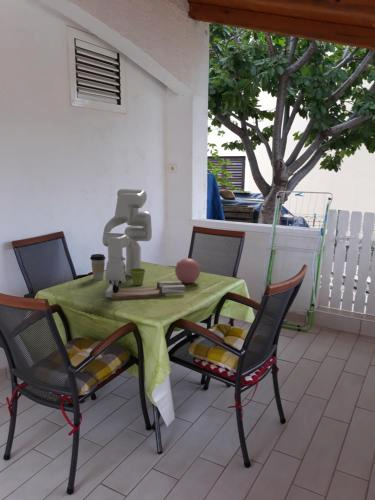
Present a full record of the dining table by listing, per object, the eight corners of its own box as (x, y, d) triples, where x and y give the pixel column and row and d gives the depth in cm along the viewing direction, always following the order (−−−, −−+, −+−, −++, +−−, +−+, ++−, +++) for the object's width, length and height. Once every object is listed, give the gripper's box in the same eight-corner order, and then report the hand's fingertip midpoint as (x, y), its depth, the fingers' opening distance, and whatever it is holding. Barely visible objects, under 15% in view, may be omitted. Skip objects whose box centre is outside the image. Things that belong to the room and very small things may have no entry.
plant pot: (148, 284, 246) (148, 270, 244) (136, 287, 239) (136, 273, 237) (138, 280, 252) (138, 267, 250) (126, 283, 245) (126, 270, 243)
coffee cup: (109, 278, 256) (108, 255, 252) (98, 281, 248) (97, 257, 245) (98, 275, 261) (97, 252, 257) (87, 278, 253) (86, 255, 250)
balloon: (189, 276, 265) (190, 253, 262) (204, 284, 247) (205, 260, 244) (168, 278, 258) (168, 255, 255) (181, 287, 241) (181, 262, 237)
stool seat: (108, 291, 230) (108, 283, 229) (179, 288, 240) (180, 280, 239) (110, 300, 217) (110, 291, 216) (185, 295, 227) (185, 287, 226)
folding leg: (111, 288, 229) (111, 283, 228) (116, 288, 229) (116, 283, 228) (105, 297, 215) (105, 291, 214) (111, 297, 215) (111, 291, 214)
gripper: (130, 258, 217) (131, 291, 221) (103, 257, 218) (104, 289, 222) (127, 261, 210) (127, 295, 213) (99, 260, 211) (100, 293, 215)
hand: (115, 292), depth 218 cm, fingers closed
